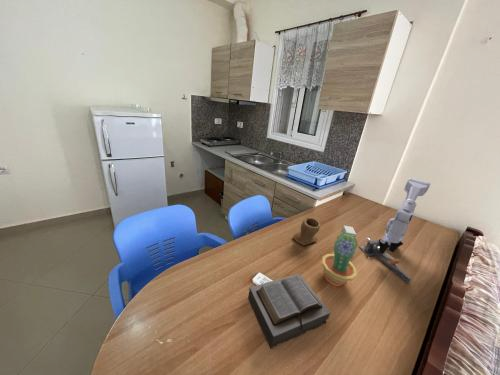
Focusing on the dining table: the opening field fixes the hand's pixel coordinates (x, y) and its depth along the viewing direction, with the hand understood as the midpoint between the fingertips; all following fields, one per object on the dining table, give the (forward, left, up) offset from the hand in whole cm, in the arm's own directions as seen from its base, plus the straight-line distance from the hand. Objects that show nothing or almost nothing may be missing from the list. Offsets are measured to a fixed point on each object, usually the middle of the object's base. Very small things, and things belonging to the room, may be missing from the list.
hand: (385, 251), depth 110 cm
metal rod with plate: (-1, -3, -3) cm, 5 cm away
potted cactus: (+37, -6, -6) cm, 38 cm away
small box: (+7, -19, -6) cm, 21 cm away
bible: (+70, -5, -6) cm, 70 cm away
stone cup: (+27, -32, -6) cm, 42 cm away
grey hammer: (+1, +2, -6) cm, 6 cm away
